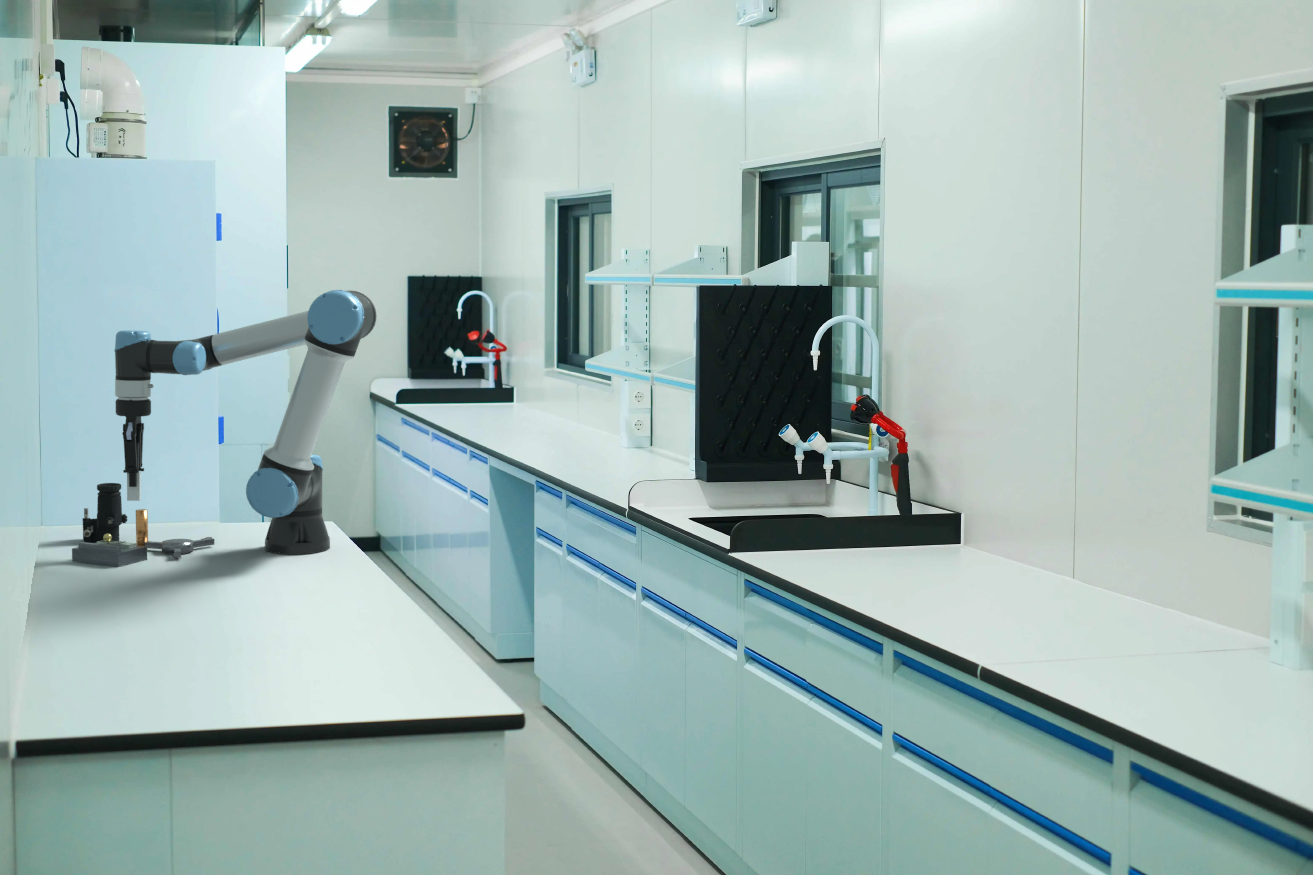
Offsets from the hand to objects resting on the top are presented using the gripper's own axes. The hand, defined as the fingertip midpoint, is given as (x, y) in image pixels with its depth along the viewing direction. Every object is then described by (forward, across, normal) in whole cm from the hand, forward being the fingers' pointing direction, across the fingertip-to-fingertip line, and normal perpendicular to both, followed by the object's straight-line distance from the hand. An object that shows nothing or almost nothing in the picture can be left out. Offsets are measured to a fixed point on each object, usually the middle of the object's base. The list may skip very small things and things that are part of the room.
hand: (134, 500), depth 295 cm
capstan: (+13, +4, -7) cm, 15 cm away
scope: (+13, +18, +10) cm, 24 cm away
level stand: (+13, -6, +4) cm, 15 cm away
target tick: (+13, +14, -14) cm, 24 cm away
